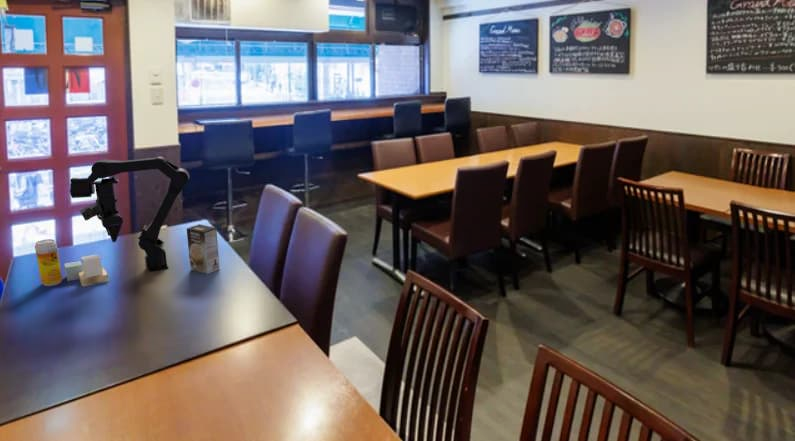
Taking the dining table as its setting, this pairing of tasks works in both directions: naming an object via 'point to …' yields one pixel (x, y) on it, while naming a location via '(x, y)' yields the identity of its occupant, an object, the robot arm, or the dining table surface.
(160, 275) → the dining table surface
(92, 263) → the white block
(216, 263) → the coffee box
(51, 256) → the beer can
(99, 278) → the beech slab
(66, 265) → the teal grey cube
